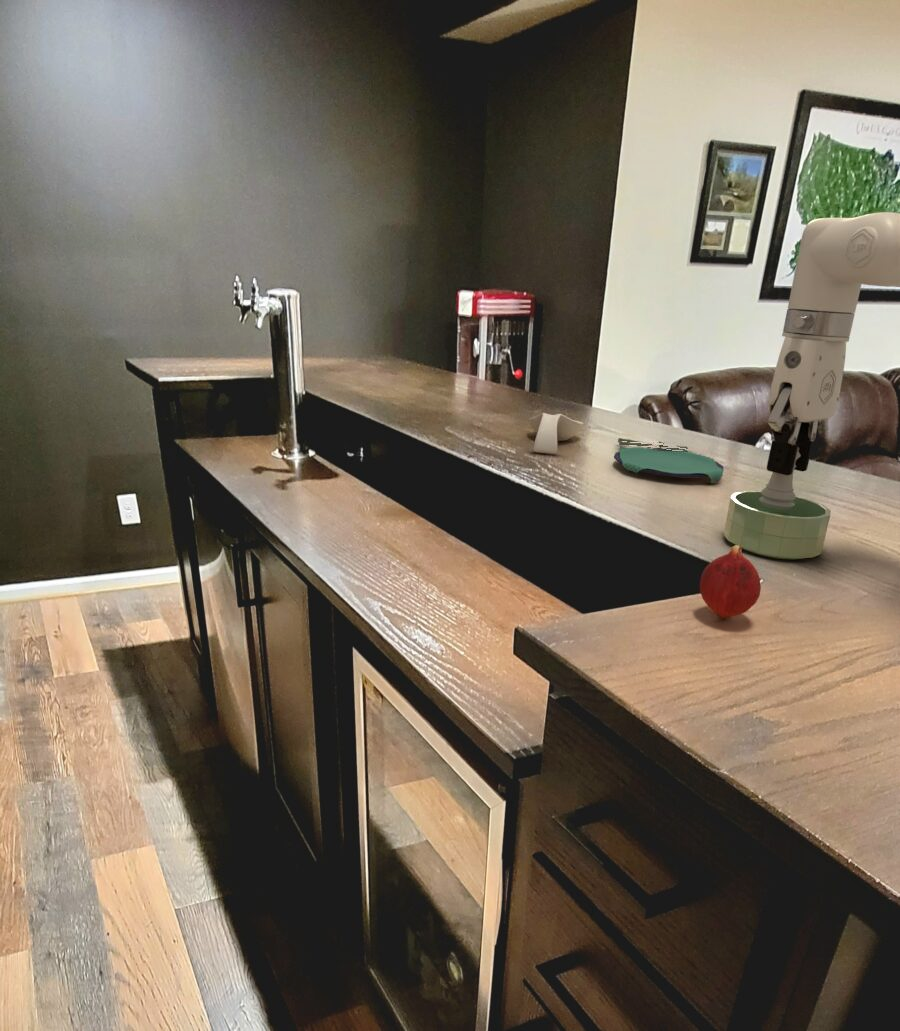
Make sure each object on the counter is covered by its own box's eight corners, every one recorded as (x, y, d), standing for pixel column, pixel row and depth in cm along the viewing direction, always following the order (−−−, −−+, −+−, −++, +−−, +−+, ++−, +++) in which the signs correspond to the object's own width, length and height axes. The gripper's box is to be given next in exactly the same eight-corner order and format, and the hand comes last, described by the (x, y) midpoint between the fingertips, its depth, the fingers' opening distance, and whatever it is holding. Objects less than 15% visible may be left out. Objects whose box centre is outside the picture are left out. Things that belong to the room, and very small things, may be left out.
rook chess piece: (752, 503, 96) (764, 444, 94) (767, 498, 99) (779, 441, 97) (785, 512, 93) (798, 452, 91) (799, 507, 96) (813, 448, 94)
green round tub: (800, 534, 103) (809, 494, 101) (836, 566, 92) (846, 521, 90) (713, 527, 104) (720, 487, 102) (738, 558, 92) (746, 513, 91)
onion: (762, 633, 72) (778, 558, 70) (705, 630, 72) (719, 555, 70) (739, 607, 78) (754, 538, 75) (687, 605, 78) (699, 535, 75)
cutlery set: (615, 479, 127) (617, 466, 126) (607, 443, 155) (609, 433, 155) (732, 490, 124) (734, 477, 124) (703, 452, 153) (705, 441, 152)
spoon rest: (530, 430, 165) (533, 398, 163) (582, 435, 162) (586, 403, 160) (516, 451, 143) (519, 416, 141) (576, 458, 140) (580, 422, 138)
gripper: (818, 329, 81) (784, 486, 87) (876, 329, 91) (842, 470, 97) (754, 323, 86) (727, 471, 92) (816, 324, 97) (788, 457, 102)
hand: (786, 469), depth 95 cm, fingers closed on rook chess piece, 3 cm apart
